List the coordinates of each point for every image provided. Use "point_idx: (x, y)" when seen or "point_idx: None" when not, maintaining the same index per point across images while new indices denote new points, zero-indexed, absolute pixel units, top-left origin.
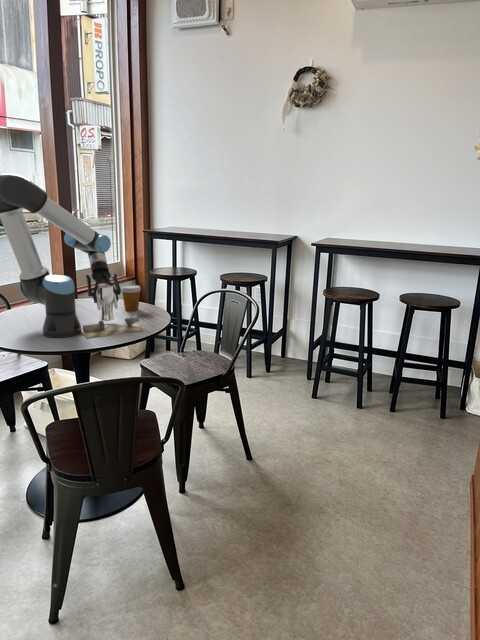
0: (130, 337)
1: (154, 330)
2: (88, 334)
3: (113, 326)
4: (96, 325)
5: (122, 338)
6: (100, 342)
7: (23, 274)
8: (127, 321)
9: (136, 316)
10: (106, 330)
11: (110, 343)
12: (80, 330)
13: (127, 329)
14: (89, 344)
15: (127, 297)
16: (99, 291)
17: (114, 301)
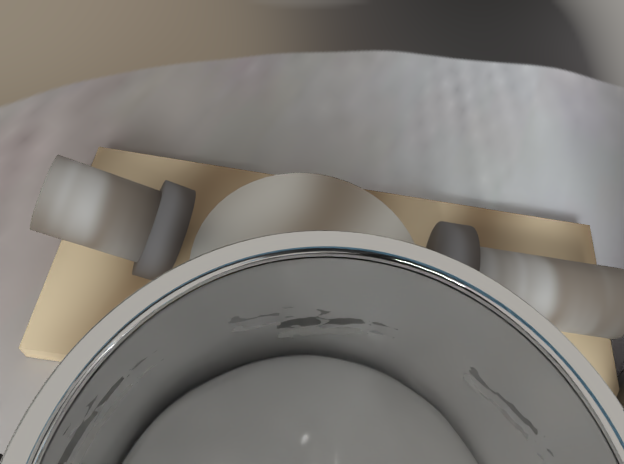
0: (283, 85)
1: (29, 108)
2: (565, 243)
3: None
4: (507, 251)
5: (340, 97)
6: (500, 112)
7: None
8: (192, 190)
9: (70, 160)
10: (407, 235)
11: (447, 67)
12: (621, 386)
13: (229, 182)
14: (573, 119)
15: None
16: (564, 458)
17: None
